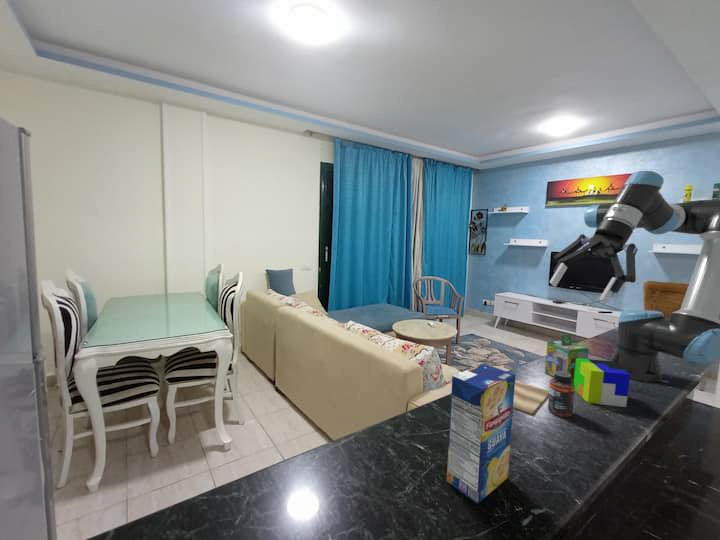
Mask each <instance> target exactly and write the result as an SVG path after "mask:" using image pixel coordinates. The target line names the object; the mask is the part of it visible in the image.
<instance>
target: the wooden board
mask: <svg viewBox="0 0 720 540" xmlns="http://www.w3.org/2000/svg"><path fill="white" fill-rule="evenodd" d="M548 395H549V389H548V390H547V389H543V388H541V387H538V386H535V385H531V384H528V383H525V382H523V381H518V380H516V379H515V388H514V401H513V410H515V411H519V412H521V413H524V414H527V415H528V416H529V415H530V416H533V415H534V413H535V412H537V410H538V409H539V407H540V406H541V405H542V404H543V403H544V402H545V400H546V399H547V398H549V396H548Z"/></svg>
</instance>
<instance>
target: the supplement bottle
mask: <svg viewBox="0 0 720 540" xmlns="http://www.w3.org/2000/svg"><path fill="white" fill-rule="evenodd" d="M548 391H549V396H548V402H547V403H548V404H547V409H548V411H549V412H550V413H551V414H553V415H554V416H557V417H561V418H570V417H572V416H573V413H574V402H575V399H574V398H575V391H576V390H575V385H574V382H571V375H570V374H569V373H567V372H563V371H556V372H555V373H554V377H553V378H550V381H549V389H548Z"/></svg>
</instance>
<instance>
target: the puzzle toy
mask: <svg viewBox="0 0 720 540" xmlns="http://www.w3.org/2000/svg"><path fill="white" fill-rule="evenodd" d="M573 384H574V385H575V389H576V390H575V391H576V392H577V393H578V394H579V396H580V397H582V398H583V400H584V401H587V402H588V403H587V402H586V403H587V404H593V403H595V405H596V404H597V405H603V406H604V405H605V406H613V407H623V408H626V407H627V403H628V393H629V387H630V374H629V373H627V372H626V371H624V370H623V369H622V368H620V367H619V366H617V365H616V364H614V363H613V362H612V361H609V360H602V359H601V360H600V359H590V358H588V359H580V358H576V365H575V375H574V382H573Z"/></svg>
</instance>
